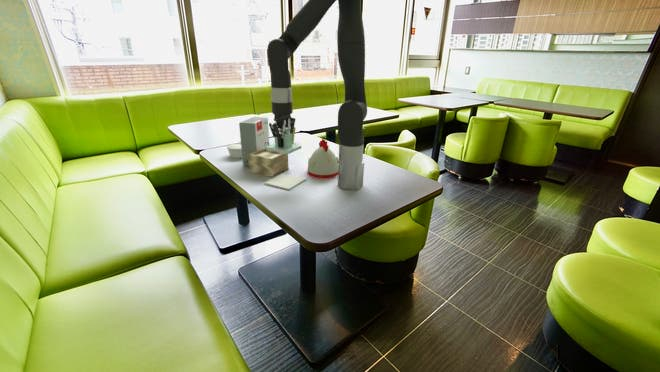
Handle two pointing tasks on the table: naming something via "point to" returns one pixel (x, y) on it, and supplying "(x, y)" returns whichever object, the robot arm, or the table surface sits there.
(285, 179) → the mat
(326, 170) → the kitchen timer
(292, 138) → the plant pot
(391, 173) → the table surface
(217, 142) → the table surface
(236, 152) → the ramekin
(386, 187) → the table surface
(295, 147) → the lid
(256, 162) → the crate
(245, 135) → the hard drive box
